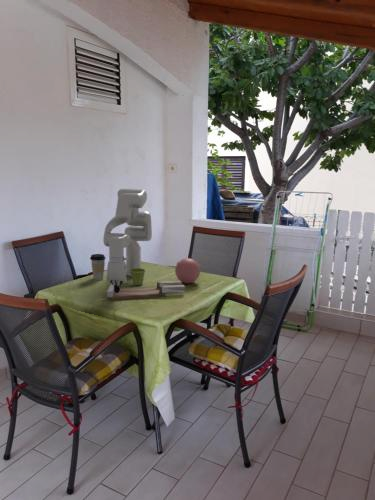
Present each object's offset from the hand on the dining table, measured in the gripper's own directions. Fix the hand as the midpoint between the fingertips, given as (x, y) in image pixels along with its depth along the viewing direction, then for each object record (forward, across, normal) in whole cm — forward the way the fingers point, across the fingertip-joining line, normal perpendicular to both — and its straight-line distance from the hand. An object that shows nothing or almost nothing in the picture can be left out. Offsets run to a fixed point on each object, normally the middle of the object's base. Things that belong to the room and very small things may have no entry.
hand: (116, 292), depth 218 cm
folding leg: (+2, +4, -4) cm, 5 cm away
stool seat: (+4, -14, -11) cm, 18 cm away
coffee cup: (+4, +20, -35) cm, 41 cm away
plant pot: (+4, -6, -28) cm, 29 cm away
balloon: (+4, -35, -37) cm, 51 cm away
